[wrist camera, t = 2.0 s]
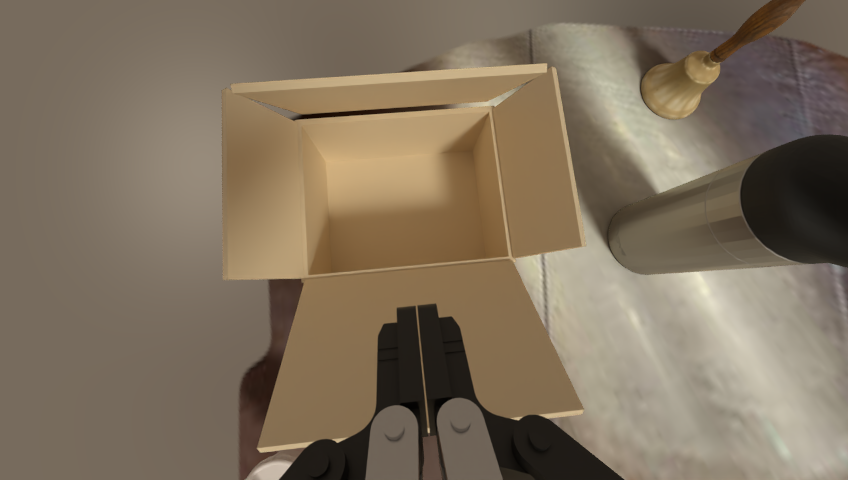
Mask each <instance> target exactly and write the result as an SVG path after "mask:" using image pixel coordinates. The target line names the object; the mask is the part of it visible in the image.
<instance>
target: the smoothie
mask: <svg viewBox="0 0 848 480" xmlns="http://www.w3.org/2000/svg"><path fill="white" fill-rule="evenodd" d="M305 448H306V447H304V448H295V449H287V450H280V451H279V452H278V453H277V454H275V455H274V456H271V457H269V458H267V459H265V460H263V461H261V462H260V463H259V464H258V465H257V466H256V467H255V468H253V470H252V471H251V473H250V474H249V475H248V477H247V478H246V480H279V479H280V478H281V476H282V475H283V474H284V473H285V472H286V470H287V469H288V468H289V467H290V466H291V464H292V463H293V462H294V461H295V460H296V458H297V457H298V456H299V455H300V453H301V452H302V451H303V450H304V449H305Z"/></svg>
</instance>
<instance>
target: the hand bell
mask: <svg viewBox="0 0 848 480" xmlns="http://www.w3.org/2000/svg"><path fill="white" fill-rule="evenodd" d="M804 1H805V0H772V1H770V2H769V3H767V4H766V5H764V6H763V7H761V8H760V9H759V10H758V11H756V12H755V13H754V14H753V15H752V16H751V17H750V18H749V19H748V20H747V21H746V22H745V23H744V24H743V25H742V26H741V27H740V29H739V30H738V31H737V32H736V34H735V35H733V36H732V37H731V38H730V39H729V40H727V41H726V42H724V43H723V44H722V45H720V46H719V47H718V48H716V49H714V50H713V51H712V52H710V53H709V52H706V51H696V52H693V53H691V54H690V55H688V56H687V57H685V58H684V59H682V60H680V61H678V62H676V63H664V64H660V65H657V66H654V67H653V68H651V69H650V70H649V71H648V72H647V73H646V74H645V76H644V77H643V80H642V84H641V93H642V96H643V99H644V101H645V103H646V105H647V106H648V107H649V108H650V109H651V110H652V111H653V112H654V113H656V114H657V115H659V116H661V117H663V118H667V119H681V118H684V117H687V116H689V115H690V114H691V113H692V112H693V111H694V110H695V109H696V108H697V106H698V104H699V102H700V98H701V93H702V92H703V91H704V90H705V89H706V88H707V87H708V86H709V85H710V84H711V83H712V82H714V81H715V80H716V78H717V77H718V75H719V73H720V65H719V63H721V62H723V61H724V60H725V59H726V58H728V57H729V56H730V55H732V54H733V53H734V52H735V51H737V50H738V49H739V48H741V47H742V46H744V45H746V44H748V43H750V42H753V41H755V40H758V39H760V38H762V37H763V36H765V35H767V34H769V33H770V32H772V31H773V30H775V29H776V28H778V27H779V26H780V25H782V24H783V23H784V22H785V21H787V20H788V19H789V18H790V17H791V16H792V15H793V14H794V12H796V10H797V9H798V8H799V7H800V6H801V4H802V3H803V2H804Z"/></svg>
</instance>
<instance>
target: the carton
mask: <svg viewBox="0 0 848 480" xmlns="http://www.w3.org/2000/svg"><path fill="white" fill-rule="evenodd" d="M222 192H223V193H222V198H223V199H222V203H223V205H222V207H223V209H222V210H223V280H253V279H299V278H301V279H302V283H304V286H303V289H302V293H301V296H300V300H299V303H298V307H297V310H296V314H295V317H294V321H293V324H292V328H291V331H290V335H289V338H288V342H287V345H286V349H285V352H284V356H283V359H282V363H281V366H280V370H279V373H278V377H277V380H276V384H275V387H274V391H273V394H272V398H271V401H270V405H269V408H268V412H267V415H266V419H265V422H264V426H263V429H262V433H261V436H260V440H259V443H258V447H257V449H258V450H259V451H260V453H262V452H270V451H279V450H287V449H295V448H304V447H307V446H308V445H310V444H311V443H313V442H315V441H317V440H321V439H331V440H334V441H336V442H337V443H338V442H340V441H342V440H344V439H346V438H349V437H351V436H353V435H355V434H356V433H358V432H360V431H361V430H363V429H364V428H365V427H366V426H367V425H368V424H369V422H370V421H371V419H372V417H373V415H374V413H375V409H376V393H377V352H378V350H377V346H378V334H379V332H380V330H381V328H382V326H383V324H385V323H395V322H397V307H407V306H416V315H417V325H418V335H419V345H420V355H421V365H422V375H423V385H424V395H425V406H426V417H427V428H428V433H430V428H429V419H428V409H427V399H426V390H425V380H424V370H423V361H422V351H421V341H420V330H419V319H418V308H417V305H425V304H435V303H436V305H437V310H438V316H439V318H440V317H450V316H452V317H453V319H454V320H455V321H456V322H457V324H458V325H459V326H460V330H461V334H462V338H463V343H464V347H465V353H466V356H467V360H468V365H469V369H470V374H471V378H472V383H473V387H474V391H475V395H476V397H477V399H478V401H479V402H480V404H481V405H482V406H483V407H484V408H485V409H486V410H488V411H489V412H491V413H493V414H495V415H498V416H502V417H506V418H510V419H515V420H520V419H521V418H522V417H524V416H527V415H540V416H543V417H545V418H555V417H564V416H572V415H580V414H582V413H583V411H584V408H583V406H582V404H581V402H580V400H579V398H578V396H577V394H576V392H575V390H574V388H573V385H572V383H571V381H570V379H569V377H568V375H567V373H566V371H565V369H564V367H563V365H562V363H561V361H560V358H559V356H558V354H557V352H556V350H555V348H554V346H553V344H552V342H551V340H550V338H549V336H548V334H547V331H546V329H545V327H544V325H543V323H542V321H541V319H540V317H539V315H538V313H537V311H536V309H535V307H534V305H533V302H532V300H531V298H530V296H529V294H528V292H527V290H526V288H525V286H524V284H523V282H522V280H521V278H520V275H519V273H518V271H517V269H516V267H515V265H514V263H515V262H516V259H515V258H520V257H526V256H532V255H538V254H543V253H549V252H555V251H561V250H567V249H573V248H578V247H584V246H586V241H585V235H584V229H583V223H582V217H581V211H580V206H579V200H578V194H577V188H576V182H575V176H574V171H573V165H572V159H571V153H570V147H569V141H568V135H567V130H566V124H565V118H564V112H563V106H562V100H561V95H560V89H559V83H558V77H557V71H556V68H554V67H552V66H551V67H550V68H549V69H547V73H545V74H543V75H541V76H539V77H537V78H535V79H533V80H532V81H531V82H529V83H528V84H526V85H525V86H524V87H522V88H521V89H519V90H518V91H517V92H515V93H514V94H513V95H511V96H510V97H508V98H507V99H506V100H504V101H503V102H501V103H500V104H499V105H497V106H496V107H494V106H485V107H471V108H457V109H443V110H428V111H414V112H400V113H386V114H372V115H358V116H344V117H330V118H316V119H301V120H295V121H293V120H291V119H289V118H287V117H285V116H283V115H280V114H279V113H276V112H274V111H272V110H270V109H268V108H266V107H264V106H262V105H260V104H258V103H256V102H254V101H252V100H250V99H248V98H246V97H243V96H239V95H236V94H233V93H232V90H230V89H228V88H225V89H223V90H222Z"/></svg>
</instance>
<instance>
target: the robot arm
mask: <svg viewBox="0 0 848 480" xmlns="http://www.w3.org/2000/svg"><path fill="white" fill-rule="evenodd" d="M608 240H609V245H610V248H611V251H612V253H613V255H614V256H615V258H616V259H617V260H618V261H619V263H621V264H622V265H623V266H624V267H625V268H627V269H629V270H630V271H632V272H635V273H638V274H645V275H651V274H666V273H684V272H699V271H714V270H729V269H744V268H759V267H772V266H787V265H802V264H816V263H831V264H835V265H839V266H843V267H847V268H848V137H846V136H841V135H815V136H809V137H805V138H801V139H797V140H794V141H792V142H789V143H786V144H784V145H781V146H779V147H776V148H773V149H771V150H769V151H766V152H764V153H761V154H758V155H756V156H753V157H751V158H748V159H746V160H743V161H741V162H738V163H736V164H733V165H731V166H728V167H726V168H723V169H721V170H718V171H716V172H713V173H711V174H708V175H705V176H703V177H700V178H698V179H695V180H693V181H690V182H688V183H685V184H682V185H680V186H677V187H675V188H672V189H670V190H667V191H665V192H662V193H659V194H657V195H654V196H652V197H649V198H646V199H644V200H641V201H639V202H636V203H634V204H631V205H629V206H626V207H624V208H623V209H621V210H620V211H619V212H618V213H617V214H615V216H614V217H613V219H612V221H611V223H610V226H609V231H608ZM417 308H418V319H419V330H420V341H421V351H422V361H423V370H424V380H425V390H426V399H427V409H428V419H429V428H430V436H434V435H436V436H437V445H438V453H439V465H440V470H441V476H442V480H624V479H623V478H622V477H620V476H619V475H618V474H617V473H615V472H614V471H613V470H612V469H610V468H609V467H608V466H607V465H605V464H604V463H603V462H602V461H600V460H599V459H598V458H597V457H595V456H594V455H593V454H592V453H590V452H589V451H588V450H587V449H585V448H584V447H583V446H582V445H580V444H579V443H578V442H577V441H575V440H574V439H573V438H572V437H570V436H569V435H568V434H567V433H565V432H564V431H563V430H562V429H560V428H559V427H558V426H557V425H555V424H554V423H553V422H552V421H550V420H549V419H547V418H545V417H543V416H540V415H527V416H524V417H522V418H521V419H520V420H515V419H510V418H506V417H502V416H498V415H495V414H493V413H491V412H489V411H488V410H486V409H485V408H484V407H483V406H482V405H481V404H480V402H479V401H478V399H477V397H476V395H475V391H474V387H473V383H472V378H471V374H470V369H469V365H468V360H467V356H466V353H465V347H464V343H463V338H462V334H461V330H460V326H459V325H458V324H457V322H456V321H455V320H454V319H453V317H452V316H450V317H440V318H439V316H438V310H437V305H436V303H435V304H425V305H417ZM377 350H378V352H377V393H376V409H375V413H374V415H373V417H372V419H371V421H370V422H369V424H368V425H367V426H366V427H365V428H364V429H363V430H361V431H360V432H358V433H356V434H355V435H353V436H351V437H349V438H346V439H344V440H342V441H340V442H338V443H337V442H336V441H334V440H331V439H321V440H317V441H315V442H313V443H311V444H310V445H308V446H307V447H306V448H305V449H304V450H303V451H302V452H301V453H300V455H299V456H298V457H297V458H296V460H295V461H294V462H293V463H292V464H291V466H290V467H289V468H288V469H287V470H286V472H285V473H284V474H283V475H282V476H281V478H280V479H279V480H423V465H424V451H423V439H422V437H427V436H428V428H427V417H426V406H425V395H424V385H423V375H422V365H421V355H420V345H419V335H418V325H417V315H416V306H407V307H397V322H395V323H385V324H383V326H382V328H381V330H380V332H379V334H378V346H377Z"/></svg>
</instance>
